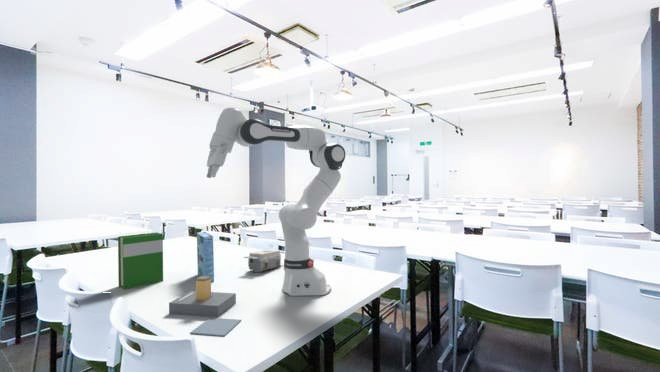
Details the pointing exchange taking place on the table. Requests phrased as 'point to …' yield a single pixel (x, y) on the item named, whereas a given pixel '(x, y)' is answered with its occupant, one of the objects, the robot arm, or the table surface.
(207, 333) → the mat
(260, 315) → the table surface
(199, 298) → the plug
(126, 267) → the hardback book
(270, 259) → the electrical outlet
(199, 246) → the gum box
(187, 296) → the grey block with hole
